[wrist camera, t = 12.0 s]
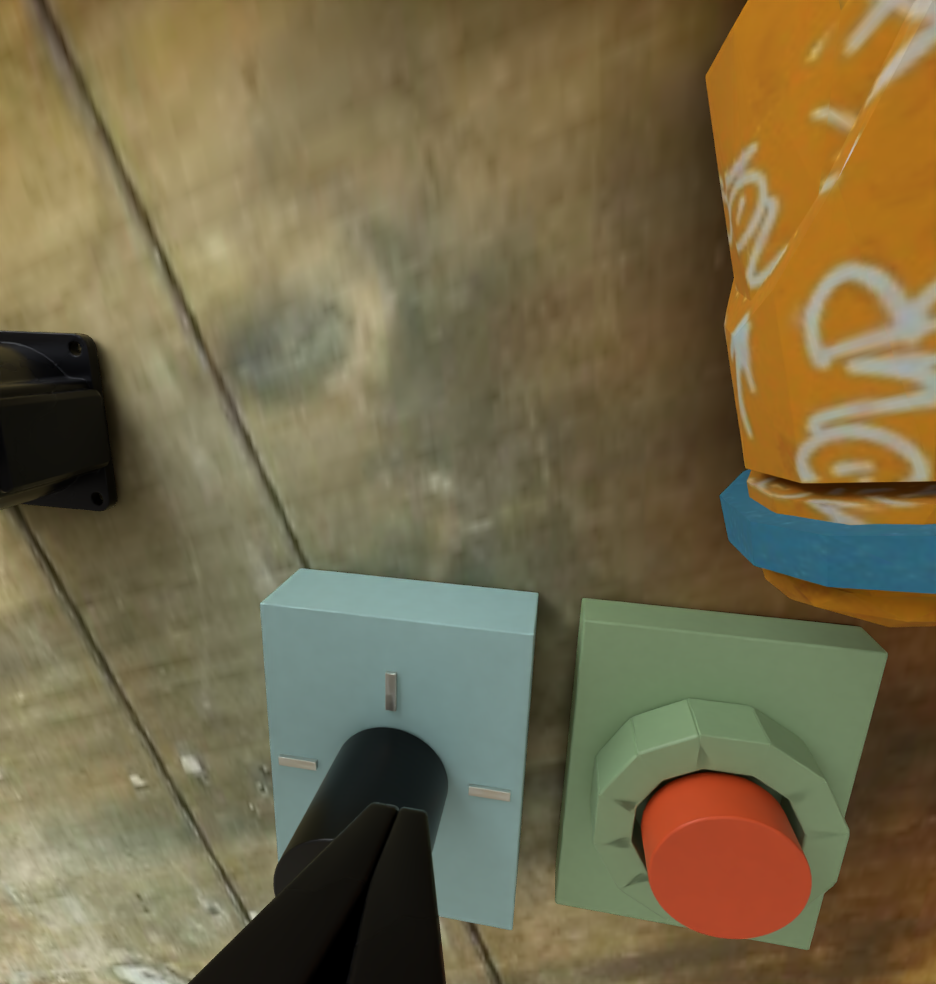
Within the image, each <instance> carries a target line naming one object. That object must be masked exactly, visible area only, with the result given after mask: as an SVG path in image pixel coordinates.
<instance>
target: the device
mask: <svg viewBox="0 0 936 984" xmlns="http://www.w3.org/2000/svg"><path fill="white" fill-rule="evenodd" d="M705 78H706V85H707V92H708V99H709V107H710V114H711V121H712V128H713V136H714V143H715V150H716V157H717V165H718V172H719V179H720V186H721V193H722V199H723V206H724V213H725V220H726V226H727V233H728V240H729V247H730V253H731V260H732V267H733V274H734V280H733V285H732V289H731V293H730V297H729V301H728V305H727V310H726V316H725V322H724V329H725V335H726V342H727V349H728V356H729V362H730V369H731V376H732V383H733V389H734V396H735V403H736V409H737V416H738V423H739V430H740V436H741V443H742V450H743V457H744V463H745V468H746V469H749V470H746V471H744V472H742V473H741V474H740V475H739V476H738V477H737V478H736V479H735V480H734V481H733V482H732V483H731V484H730V485H729V486H728V487H727V488H726V489H725V490H724V491H723V492H722V493H721V494H720V495H719V496H720V501H721V506H722V511H723V515H724V520H725V525H726V530H727V535H728V540H729V542H730V543H731V544H733V545H734V546H735V547H736V548H737V549H738V550H739V551H740V552H741V553H742V554H743V555H744V556H745V557H746V558H747V559H748V560H749V561H750V562H751V563H752V564H753V565H754V566H757V567H761V568H762V569H763V573H764V576H765V579H766V580H767V581H769V582H770V583H771V584H772V585H774V586H775V587H776V588H777V589H779V590H780V591H781V592H782V593H784V594H785V595H786V596H787V597H789V598H790V599H792V600H795V601H799V602H802V603H805V604H808V605H812V606H815V607H818V608H822V609H826V610H829V611H833V612H836V613H840V614H844V615H847V616H851V617H854V618H858V619H862V620H865V621H869V622H872V623H876V624H880V625H883V626H887V627H922V626H936V0H748V1H747V3H746V5H745V6H744V8H743V10H742V11H741V13H740V15H739V17H738V18H737V20H736V22H735V24H734V25H733V27H732V29H731V31H730V32H729V34H728V36H727V38H726V40H725V42H724V43H723V45H722V47H721V49H720V51H719V52H718V54H717V56H716V58H715V60H714V62H713V63H712V65H711V67H710V69H709V71H708V72H707V74H706V76H705Z"/></svg>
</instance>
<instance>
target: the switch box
mask: <svg viewBox="0 0 936 984" xmlns="http://www.w3.org/2000/svg"><path fill="white" fill-rule="evenodd" d="M887 657H888V654H887V652H886V651H885V650H884V649H883V648H882V647H881V646H880V645H879V644H878V643H877V642H876V641H875V640H874V639H873V638H872V637H871V636H870V635H869V634H868V633H867V632H866V631H865V630H864V629H863V628H861V627H859V626H849V625H839V624H830V623H820V622H811V621H801V620H791V619H782V618H772V617H762V616H753V615H743V614H734V613H724V612H714V611H705V610H695V609H685V608H676V607H666V606H657V605H647V604H637V603H628V602H618V601H608V600H599V599H589V598H583V599H582V603H581V613H580V623H579V633H578V643H577V653H576V664H575V674H574V684H573V694H572V704H571V714H570V724H569V734H568V745H567V755H566V765H565V775H564V785H563V795H562V805H561V816H560V826H559V836H558V846H557V856H556V872H555V902H556V903H557V904H561V905H566V906H572V907H577V908H583V909H588V910H594V911H599V912H604V913H610V914H615V915H621V916H626V917H632V918H637V919H642V920H648V921H653V922H659V923H664V924H670V925H675V926H680V927H686V926H684V925H682V924H681V923H679V922H678V921H676V920H675V919H674V918H672V917H671V916H670V915H669V914H668V913H667V912H666V911H665V910H664V909H663V908H662V907H661V905H660V904H659V903H658V901H657V900H656V898H655V896H654V894H653V892H652V890H651V888H650V884H649V880H648V874H647V867H646V861H645V854H644V848H643V841H642V835H641V819H642V815H643V812H644V809H645V807H646V805H647V803H648V801H649V800H650V798H651V797H652V796H653V795H654V794H655V793H656V792H657V791H658V790H659V789H660V788H661V787H663V786H664V785H666V784H667V783H669V782H671V781H673V780H675V779H677V778H680V777H683V776H685V775H690V774H694V773H702V772H719V773H727V774H732V775H736V776H739V777H742V778H745V779H747V780H750V781H752V782H754V783H756V784H757V785H759V786H761V787H762V788H763V789H765V790H766V791H767V792H769V793H770V794H771V795H772V796H773V797H774V798H775V799H776V800H777V801H778V803H779V804H780V805H781V807H782V808H783V810H784V812H785V814H786V816H787V818H788V820H789V822H790V824H791V827H792V829H793V831H794V833H795V835H796V837H797V839H798V842H799V844H800V846H801V848H802V850H803V852H804V855H805V857H806V859H807V861H808V864H809V866H810V870H811V875H812V888H811V894H810V897H809V900H808V902H807V904H806V906H805V907H804V909H803V910H802V912H801V913H800V914H799V915H798V916H797V917H796V918H795V919H794V920H793V921H792V922H791V923H789V924H788V925H786V926H785V927H783V928H781V929H779V930H777V931H775V932H772V933H770V934H767V935H763V936H760V937H755V938H748V939H751V940H756V941H762V942H767V943H773V944H778V945H783V946H789V947H794V948H800V949H805V950H808V949H809V948H810V944H811V940H812V937H813V933H814V929H815V925H816V922H817V918H818V914H819V910H820V907H821V903H822V899H823V896H824V893H825V892H826V891H827V890H829V889H830V888H831V887H832V886H834V883H836V882H837V879H838V875H839V872H840V868H841V864H842V861H843V857H844V853H845V850H846V846H847V842H848V839H849V832H850V831H849V828H848V826H847V823H846V821H845V819H844V817H845V813H846V810H847V806H848V802H849V798H850V795H851V791H852V787H853V784H854V780H855V776H856V772H857V769H858V765H859V761H860V757H861V754H862V750H863V746H864V742H865V739H866V735H867V731H868V728H869V724H870V720H871V716H872V713H873V709H874V705H875V701H876V698H877V694H878V690H879V686H880V683H881V679H882V675H883V672H884V668H885V664H886V660H887ZM686 928H688V927H686Z"/></svg>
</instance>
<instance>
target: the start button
mask: <svg viewBox="0 0 936 984" xmlns="http://www.w3.org/2000/svg"><path fill="white" fill-rule="evenodd" d="M641 835H642V841H643V848H644V854H645V861H646V867H647V874H648V880H649V884H650V888H651V890H652V892H653V894H654V896H655V898H656V900H657V901H658V903H659V904H660V905H661V907H662V908H663V909H664V910H665V911H666V912H667V913H668V914H669V915H670V916H671V917H672V918H674V919H675V920H676V921H678V922H679V923H681V924H682V925H684V926H686V927H688V928H690V929H692V930H694V931H696V932H699V933H702V934H705V935H709V936H713V937H718V938H725V939H748V938H755V937H760V936H763V935H767V934H770V933H772V932H775V931H777V930H779V929H781V928H783V927H785V926H786V925H788V924H789V923H791V922H792V921H793V920H794V919H795V918H796V917H797V916H798V915H799V914H800V913H801V912H802V910H803V909H804V907H805V906H806V904H807V902H808V900H809V897H810V894H811V888H812V875H811V870H810V866H809V864H808V861H807V859H806V857H805V855H804V852H803V850H802V848H801V846H800V844H799V842H798V839H797V837H796V835H795V833H794V831H793V829H792V827H791V824H790V822H789V820H788V818H787V816H786V814H785V812H784V810H783V808H782V807H781V805H780V804H779V803H778V801H777V800H776V799H775V798H774V797H773V796H772V795H771V794H770V793H769V792H767V791H766V790H765V789H763V788H762V787H761V786H759V785H757V784H756V783H754V782H752V781H750V780H747V779H745V778H742V777H739V776H736V775H732V774H727V773H719V772H702V773H694V774H690V775H685V776H683V777H680V778H677V779H675V780H673V781H671V782H669V783H667V784H666V785H664V786H663V787H661V788H660V789H659V790H658V791H657V792H656V793H655V794H654V795H653V796H652V797H651V798H650V800H649V801H648V803H647V805H646V807H645V809H644V812H643V815H642V819H641Z"/></svg>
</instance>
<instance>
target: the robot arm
mask: <svg viewBox="0 0 936 984" xmlns="http://www.w3.org/2000/svg"><path fill="white" fill-rule="evenodd" d="M78 344H80V346H81V353H80V352H79V350H78ZM100 494H101V495H102V497H103V500H102V499H101V498H100ZM116 502H117V493H116V485H115V478H114V471H113V464H112V457H111V449H110V442H109V435H108V428H107V420H106V413H105V406H104V399H103V392H102V384H101V377H100V370H99V363H98V356H97V349H96V345H95V343H94V341H93V340H92V338H90V337H89V336H87V335H85V334H74V333H49V332H24V331H0V510H2V509H5V508H8V507H12V506H15V505H18V504H28V505H38V506H49V507H60V508H70V509H81V510H92V511H104V510H106V509H109V508H112V507H113V506H115V504H116ZM188 984H446V979H445V970H444V961H443V951H442V942H441V933H440V924H439V915H438V905H437V896H436V887H435V878H434V869H433V859H432V850H431V841H430V832H429V822H428V815H427V812H426V811H425V810H420V809H414V808H408V807H402V808H400V810H399V808H398V807H397V806H395V805H390V804H384V803H378V802H373V803H371V804H369V805H368V806H367V807H366V808H365V809H364V810H363V811H362V812H361V813H360V814H359V815H358V816H357V817H356V818H355V819H354V820H353V821H352V822H351V823H350V824H349V825H348V826H347V827H346V828H345V829H344V830H343V831H342V832H341V833H340V834H339V835H338V836H337V837H336V838H335V839H334V840H333V841H332V842H331V843H330V844H329V845H328V846H327V847H326V848H325V849H324V850H323V851H322V852H321V853H320V854H319V855H318V856H317V857H316V858H315V859H314V860H313V861H312V862H311V863H310V864H308V865H307V866H306V867H305V868H304V869H303V870H302V871H301V872H300V873H299V874H298V875H297V876H296V877H295V878H294V879H293V880H292V881H291V882H290V883H289V884H288V885H287V886H286V887H285V888H284V889H283V890H282V891H281V892H280V893H279V894H278V895H277V896H276V897H275V898H274V899H273V900H272V901H271V902H270V903H269V904H268V905H267V906H266V907H265V908H264V909H263V910H262V911H261V912H260V913H259V914H258V915H257V916H256V917H255V918H254V919H253V920H252V921H251V922H250V923H249V924H248V925H247V926H246V927H245V928H244V929H243V930H242V931H241V932H240V933H239V934H238V935H237V936H236V937H235V938H234V939H233V940H232V941H231V942H230V943H229V944H228V945H227V946H226V947H225V948H224V949H223V950H222V951H220V952H219V953H218V954H217V955H216V956H215V957H214V958H213V959H212V960H211V961H210V962H209V963H208V964H207V965H206V966H205V967H204V968H203V969H202V970H201V971H200V972H199V973H198V974H197V975H196V976H195V977H194V978H193V979H192V980H191V981H190V982H189V983H188Z"/></svg>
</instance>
